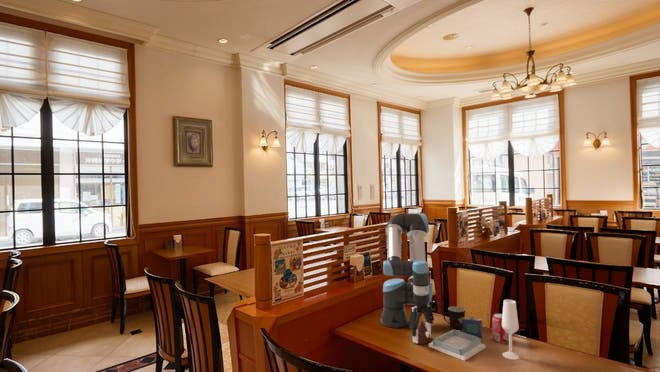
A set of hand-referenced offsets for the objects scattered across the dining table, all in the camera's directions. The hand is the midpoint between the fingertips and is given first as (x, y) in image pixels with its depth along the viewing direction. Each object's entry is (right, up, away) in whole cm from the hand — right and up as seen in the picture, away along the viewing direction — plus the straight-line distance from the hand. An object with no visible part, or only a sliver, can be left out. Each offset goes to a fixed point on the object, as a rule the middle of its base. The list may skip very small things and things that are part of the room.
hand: (422, 339), depth 174 cm
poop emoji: (0, -1, 0) cm, 1 cm away
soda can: (+38, 0, -1) cm, 38 cm away
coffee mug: (+21, -1, +14) cm, 25 cm away
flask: (+26, 0, +3) cm, 26 cm away
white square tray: (+14, 0, -8) cm, 16 cm away
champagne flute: (+35, 0, -17) cm, 38 cm away
